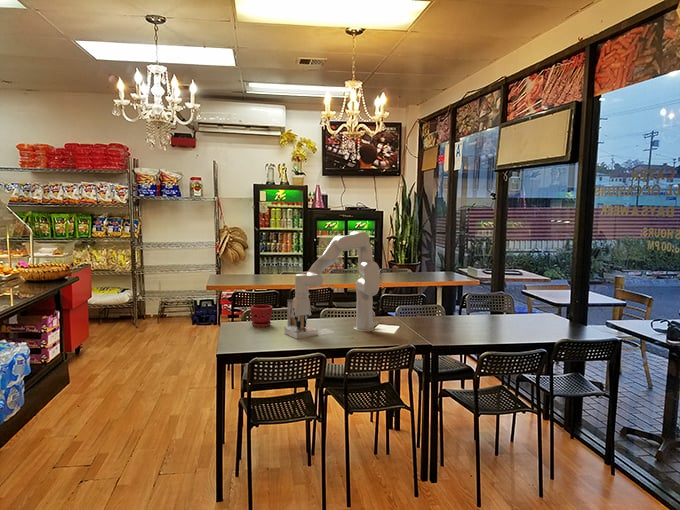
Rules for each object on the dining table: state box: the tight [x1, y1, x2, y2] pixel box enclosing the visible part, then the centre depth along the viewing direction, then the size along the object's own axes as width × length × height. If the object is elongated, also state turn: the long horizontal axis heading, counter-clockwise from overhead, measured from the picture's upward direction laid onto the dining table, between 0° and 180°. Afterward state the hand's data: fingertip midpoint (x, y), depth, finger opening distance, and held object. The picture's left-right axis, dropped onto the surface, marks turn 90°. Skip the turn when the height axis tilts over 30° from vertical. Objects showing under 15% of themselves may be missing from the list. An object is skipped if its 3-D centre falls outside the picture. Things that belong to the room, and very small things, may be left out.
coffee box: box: [287, 298, 296, 327], centre depth 286 cm, size 9×6×16 cm
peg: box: [299, 315, 304, 330], centre depth 268 cm, size 3×3×10 cm
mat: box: [318, 327, 336, 336], centre depth 274 cm, size 10×10×1 cm
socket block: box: [283, 324, 319, 340], centre depth 268 cm, size 14×14×4 cm
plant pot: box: [250, 304, 273, 328], centre depth 286 cm, size 13×13×12 cm
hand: (301, 326), depth 268 cm, fingers closed on peg, 3 cm apart
